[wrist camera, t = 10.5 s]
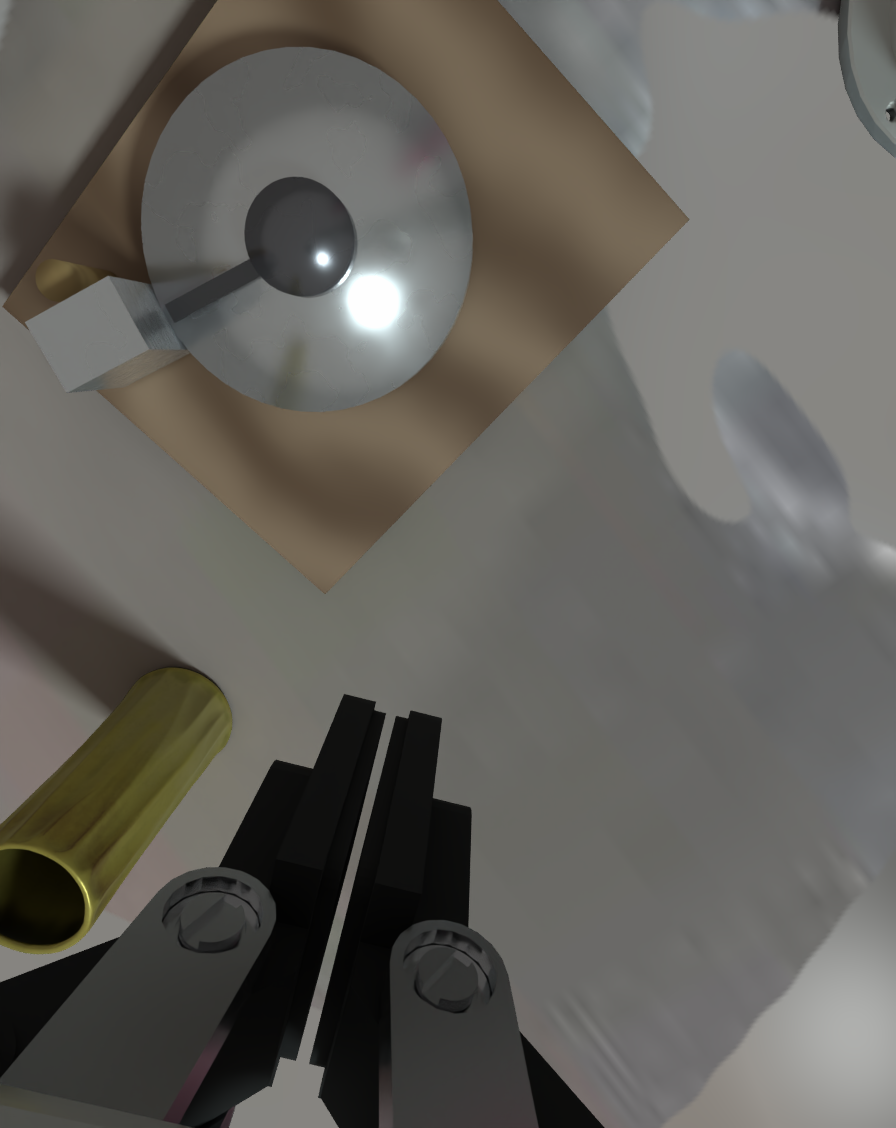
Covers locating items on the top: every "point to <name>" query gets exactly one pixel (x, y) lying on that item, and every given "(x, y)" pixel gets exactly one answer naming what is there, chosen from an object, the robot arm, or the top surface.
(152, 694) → the vase
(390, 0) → the base plate
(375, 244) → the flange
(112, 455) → the top surface
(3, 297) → the top surface
